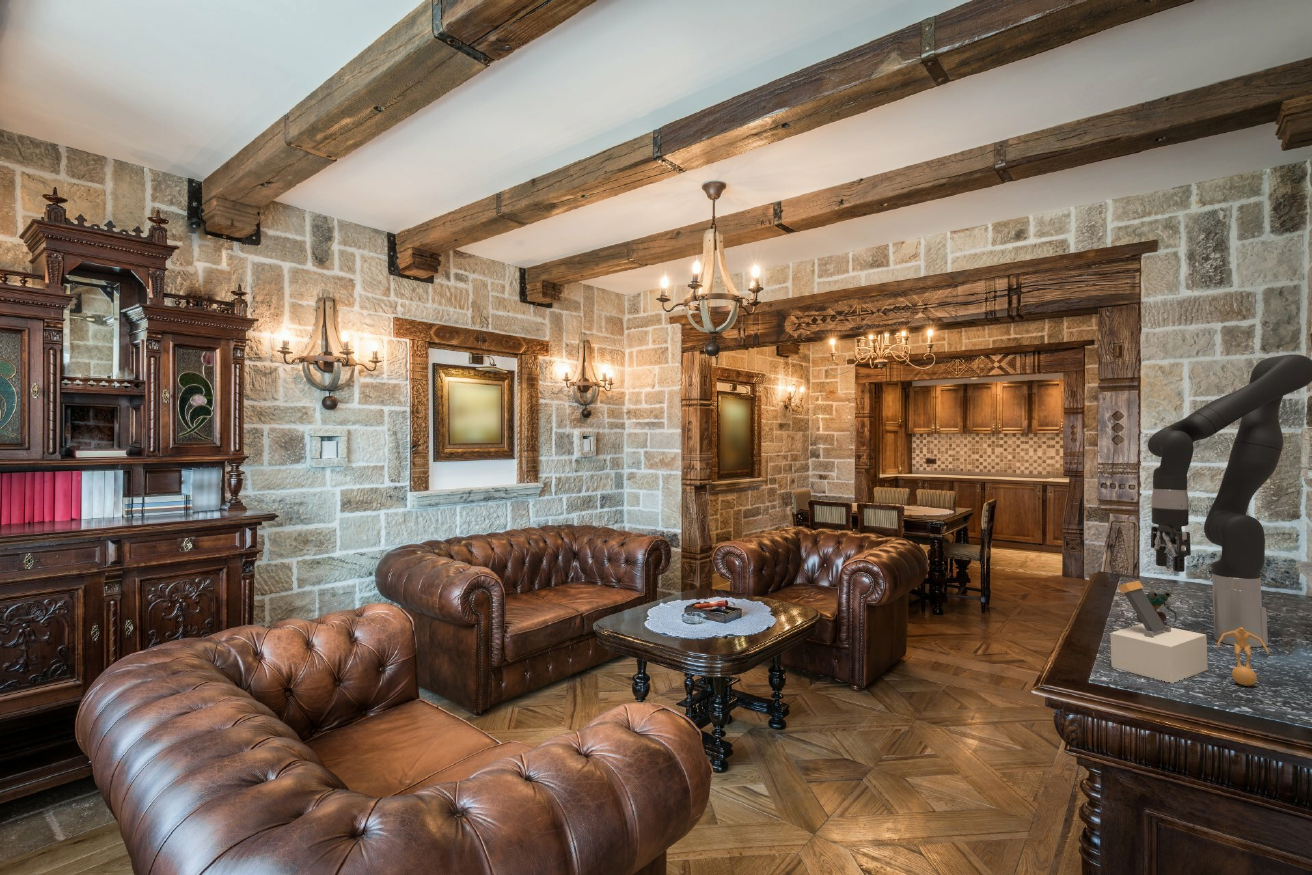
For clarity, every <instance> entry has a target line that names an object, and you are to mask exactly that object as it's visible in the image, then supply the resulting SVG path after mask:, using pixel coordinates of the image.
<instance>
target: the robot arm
mask: <svg viewBox="0 0 1312 875" xmlns="http://www.w3.org/2000/svg"><path fill="white" fill-rule="evenodd" d="M1311 383H1312V359H1311V358H1310V357H1308V356H1306V355H1302V354H1284V355H1278V356H1272V357H1268V358H1265V359H1262V360H1260V361H1259V362H1258V363H1256V365H1254V367H1253V369H1252V371H1251V374H1250V377H1249V384H1247V385H1246V386H1244V387H1242V388H1239V389H1237V390H1235V391H1232V392H1230V393H1228V394H1226V395H1223V396H1221V397H1219V398H1216V399H1215V400H1213V401H1211V402H1209V403H1207V404H1205V405H1203V406H1201V407H1200V408H1198V409H1197V410H1195V411H1194V412H1192V413H1190V414H1189V415H1187V416H1186V417H1185V418H1183V419H1181V420H1179V421H1176V422H1174V423H1172V424H1170V425H1168V426H1166V427H1162V429H1160V430H1158V431H1157V432H1155V433H1153V434H1152V435H1151V436H1150V438H1149V440H1148V441H1147V449H1148V451H1149V452H1150V453H1151V454H1152V455H1154V456H1155V457H1158V458H1161V459H1160V464H1159V466H1158V467H1156V468H1155V469H1154V470H1153V472H1152V494H1151V523H1152V524H1154V525H1155V526H1154V525H1152V526H1151V527H1150V529H1151V530H1150V548H1151V549H1153V551H1155V564H1156V566H1158V567H1167V565H1168V561H1167V560H1168V552H1167V551H1168V549H1169V550H1170V551H1171V554H1172V571H1174V572H1176V573H1177V572H1178V573H1183V572H1185V570H1186V569H1185V565H1186V563H1185V562H1186V559H1185V558H1187V557H1189V556H1191V554H1192V552H1191V533H1190V532H1189V531H1183V527H1188V526H1189V523H1190V522H1189V509H1190V507H1189V504H1190V501H1189V494H1188V473H1189V470H1190V466H1191V462H1192V459H1193V455H1194V443H1195V442H1197V441H1201V440H1205V439H1208V438H1210V437H1212V436H1214V435H1215V434H1217V433H1218V432H1220V431H1222V430H1223V429H1225V428H1227V427H1228V426H1229V425H1232V424H1233V423H1234V422H1237V421H1238V420H1239V419H1240V423H1239V426H1238V430H1237V433H1236V436H1235V439H1234V440H1233V444H1232V447H1231V451H1230V454H1229V457H1228V461H1227V464H1226V468H1225V470H1224V474H1223V476H1222V480H1221V483H1220V487H1219V489H1218V492H1217V494H1216V496H1215V499H1214V501H1213V503H1212V505H1211V508H1210V510H1209V511H1208V514H1207V516H1206V518H1205V521H1204V524H1203V530H1204V531H1203V532H1204V533H1203V534H1204V535H1205V538H1206V539H1207V540H1208V541H1209V542H1210V543H1212V544H1214V545H1216V546H1219V547H1221V557H1220V559H1218V560H1215V561H1213V563H1212V564H1211V577H1212V578H1211V580H1212V581H1211V583H1212V601H1213V602H1212V605H1213V628H1214V629H1213V632H1214V633H1213V634H1214V639H1215V640H1216V641H1217V642H1218V641H1219V639H1220V638H1221V635H1222V634H1224V633H1227V632H1231V631H1234V630H1236V629H1239V628H1240V627H1242V628H1244V630H1245V631H1247V632H1249V633H1251V634H1253V635H1255V636H1257V637H1259V638H1261V639H1262V641H1263V643H1264V644H1265V645H1266V647H1268V644H1269V643H1268V642H1269V641H1268V621H1267V620H1268V619H1267V618H1268V616H1267V608H1266V607H1264V606H1262V605H1263V603H1262V587H1261V586H1262V583H1261V582H1262V581H1261V577H1262V576H1261V572H1262V570H1263V568H1264V565H1265V559H1266V558H1265V554H1266V553H1265V551H1266V549H1265V548H1266V534H1265V529H1264V527H1263V525H1262V523H1261V522H1260V521H1259V520H1258V519H1257V518H1255V517H1253V516H1252V515H1251V516H1250V515H1248V514H1247V513H1248V509H1249V505H1250V504H1251V500H1252V498H1253V497H1254V495H1255V494H1256V492H1258V490H1259V489H1261V487H1262V486H1263V485H1264V484H1265V483H1266V482H1267V481H1268V479H1270V477H1271V476H1272V475H1273V474H1274V472H1275V470H1276V469H1277V466H1278V464H1279V461H1280V458H1281V455H1282V451H1283V448H1284V447H1283V446H1284V436H1283V431H1282V428H1281V424H1280V420H1279V414H1280V413H1279V411H1280V407H1281V404H1282V401H1283V398H1284V396H1286V395H1288V394H1291V393H1294V392H1296V391H1298V390H1301V389H1303V388H1305V387H1307V386H1308V385H1310V384H1311ZM1220 643H1224V644H1227V645H1232V646H1234V643H1237V645H1238V641H1237V640H1236V637H1235V635H1227V636H1224V638H1223V640H1222V641H1221V642H1220ZM1247 645H1250V646H1251V648H1260V647H1263V645H1262V644H1261V643H1260V641H1259V640H1257V639H1255V638H1252V637H1248V640H1247V642H1246V646H1247Z"/></svg>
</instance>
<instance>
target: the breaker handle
mask: <svg viewBox="0 0 1312 875" xmlns="http://www.w3.org/2000/svg"><path fill="white" fill-rule="evenodd" d="M1117 588H1118V590H1119V591H1120V592H1121V594H1124V596H1125V598H1126V599H1127V601H1128V602H1129V604H1130V605H1131V607H1132V609H1133V611H1134V612H1135V613H1136V616H1137V615H1138V617H1139V618H1140V620H1141V622H1140V623H1141V624H1142V623H1143V625H1144V626H1145V628H1146V630H1147V631H1152V632H1154V634H1156V633H1159V632H1162V631H1165V630H1166V627H1165V626H1166V625H1165V623H1164V622H1162V620H1161V619H1160V617H1159V616H1158V614H1157V612H1158V611H1157V610H1156V611H1157V612H1156V611H1155V609H1154V608H1153V606H1152V604H1151V603H1150V601H1149V600H1148V598H1147V597H1146V594H1145V592H1144V590H1143V588H1144V586H1143V585H1142V583H1141V581H1140V580H1135V581H1131V582H1127V583H1123V584H1121V585H1118V586H1117Z"/></svg>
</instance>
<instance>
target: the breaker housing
mask: <svg viewBox="0 0 1312 875" xmlns="http://www.w3.org/2000/svg"><path fill="white" fill-rule="evenodd" d="M1165 627H1166V630H1165V631H1162V632H1159V633H1156V634H1154V632H1152V631H1147V630H1146V628H1145V626H1144V625H1143V623H1142V622H1141V623H1139V624H1136V625H1132V626H1129V627H1126V628H1125V627H1124V628H1122V629H1120V630H1116V631H1113V632H1110V655H1111V656H1110V658H1111V659H1110V660H1111V662H1110V663H1111V668H1114V669H1117V670H1121V671H1125V672H1128V673H1132V674H1135V675H1138V676H1143V677H1147V678H1151V679H1153V678H1154V679H1153V680H1157V681H1161V680H1162V681H1161V682H1164V681H1165V682H1166V683H1168V682H1170V683H1169V684H1175V683H1174V682H1176V683H1178V682H1180V681H1182V680H1185V679H1188V678H1190V677H1192V676H1195V675H1197V674H1200V673H1203V672H1205V671H1208V668H1209V667H1208V645H1207V644H1208V643H1207V641H1208V640H1207V634H1205V633H1204V634H1203V633H1200V632H1194V631H1191V630H1186V629H1180V628H1175V627H1171V626H1169V625H1165ZM1184 678H1185V679H1184ZM1179 680H1180V681H1179Z"/></svg>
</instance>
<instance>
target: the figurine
mask: <svg viewBox="0 0 1312 875" xmlns="http://www.w3.org/2000/svg"><path fill="white" fill-rule="evenodd" d="M1227 635H1235V637H1236V640H1237V641H1238V645H1237V643H1234V645H1233V647H1234V654H1235V658H1236V660H1237V662H1236V663H1237V666H1235V667H1234V668H1233V669H1232V670H1231V678H1232V679H1233V680H1234V681H1235V682H1236V683H1237V684H1238V685H1241V686H1245V687H1246V686H1247V687H1249V686H1253V685H1255V684H1256V683H1257V681H1258V677H1257V674H1256V672H1255V671H1254V670H1253V669H1252V668H1251V666H1250V660H1251V656H1252V650H1251V648H1252V647H1251V646H1250V645H1247V646H1246V642H1247V640H1248V637H1252V638H1255V639H1257V640H1259V641H1260V643H1261V644H1262V645H1263V646H1262V647H1263V648H1264V649H1265V652H1266V654H1267V655H1270V651H1269V649H1268V646H1266V645H1265V644H1264V643H1263V641H1262V639H1261V638H1259V637H1257V636H1255V635H1253V634H1251V633H1249V632H1247V631H1245V630H1244V628H1242V627H1240V628H1239V629H1236V630H1234V631H1231V632H1227V633H1224V634H1222V635H1221V638H1220V639H1219V641H1218V640H1217V643H1216V648H1219V647H1220V646H1221V644H1220V643H1222V642H1221V641H1222V640H1223V638H1224V636H1227ZM1242 650H1243V652H1244V653H1245V654H1246V657H1245V659H1246V660H1245V665H1242V664H1241V656H1240V653H1241V652H1242Z"/></svg>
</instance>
